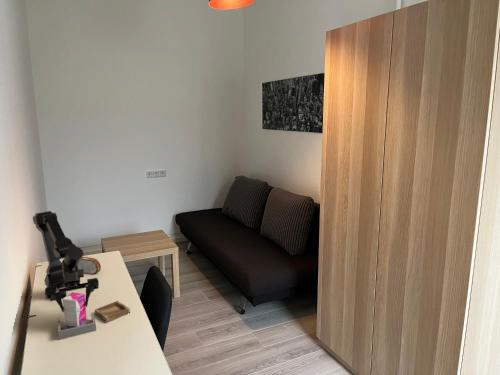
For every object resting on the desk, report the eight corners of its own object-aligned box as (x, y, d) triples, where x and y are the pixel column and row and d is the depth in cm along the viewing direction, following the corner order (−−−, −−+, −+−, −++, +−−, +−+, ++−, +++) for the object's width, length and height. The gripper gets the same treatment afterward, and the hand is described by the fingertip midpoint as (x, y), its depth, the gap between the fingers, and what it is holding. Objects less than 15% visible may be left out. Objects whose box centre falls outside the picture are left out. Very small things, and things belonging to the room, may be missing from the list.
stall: (58, 328, 142) (57, 320, 142) (94, 319, 148) (93, 312, 147) (59, 339, 135) (58, 332, 134) (96, 330, 140) (95, 323, 140)
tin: (101, 273, 193) (100, 258, 191) (97, 276, 190) (96, 260, 188) (78, 270, 197) (77, 255, 196) (74, 272, 195) (72, 257, 193)
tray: (95, 314, 152) (94, 309, 152) (117, 305, 159) (117, 300, 159) (106, 322, 145) (106, 318, 145) (130, 312, 153) (129, 308, 152)
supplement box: (78, 328, 140) (75, 300, 138) (64, 326, 141) (61, 298, 139) (87, 320, 146) (85, 293, 144) (74, 318, 147) (71, 291, 145)
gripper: (42, 267, 138) (45, 308, 131) (96, 258, 147) (101, 296, 139) (45, 279, 147) (47, 317, 139) (95, 270, 155) (100, 306, 148)
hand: (74, 309), depth 141 cm, fingers closed on supplement box, 8 cm apart
